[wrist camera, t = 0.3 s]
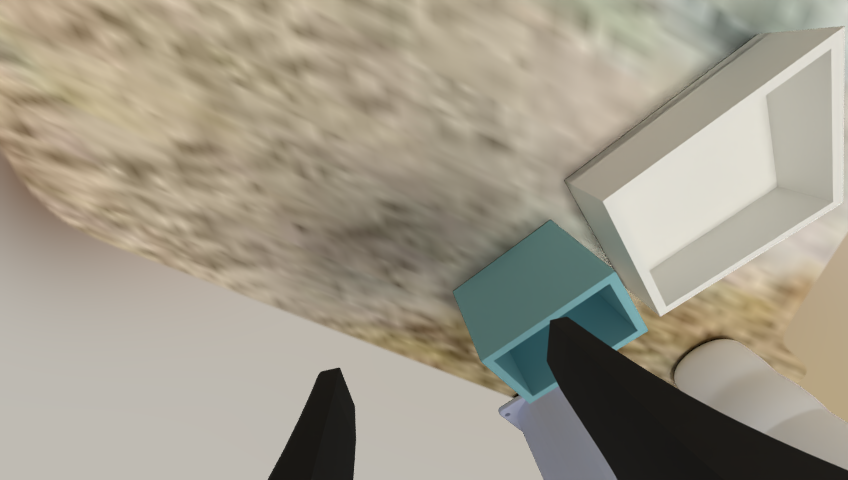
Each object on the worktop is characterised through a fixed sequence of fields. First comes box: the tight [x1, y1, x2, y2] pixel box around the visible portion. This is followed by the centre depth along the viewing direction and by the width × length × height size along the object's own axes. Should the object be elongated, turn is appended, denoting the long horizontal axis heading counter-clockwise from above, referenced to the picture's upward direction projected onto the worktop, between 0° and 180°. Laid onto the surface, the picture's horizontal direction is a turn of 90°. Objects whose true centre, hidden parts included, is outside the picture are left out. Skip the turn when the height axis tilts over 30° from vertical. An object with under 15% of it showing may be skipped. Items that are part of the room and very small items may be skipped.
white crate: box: [564, 26, 845, 317], centre depth 19 cm, size 11×12×4 cm
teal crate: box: [453, 220, 648, 404], centre depth 20 cm, size 6×8×6 cm
